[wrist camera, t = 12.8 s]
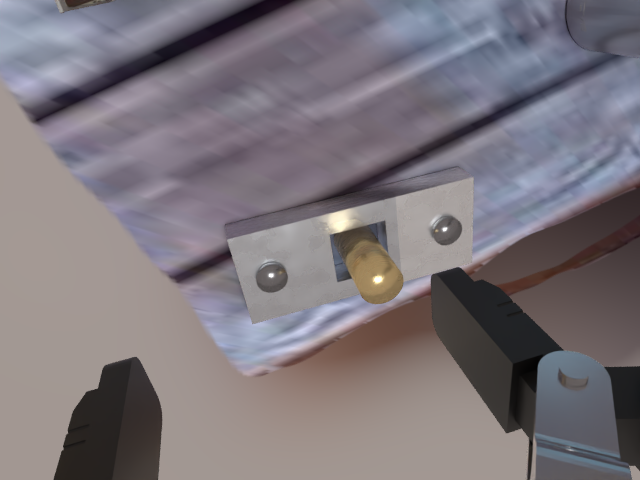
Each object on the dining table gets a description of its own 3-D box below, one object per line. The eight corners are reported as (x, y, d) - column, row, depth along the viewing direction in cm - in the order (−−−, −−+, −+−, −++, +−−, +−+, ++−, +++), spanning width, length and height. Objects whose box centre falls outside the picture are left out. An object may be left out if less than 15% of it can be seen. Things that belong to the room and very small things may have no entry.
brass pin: (369, 216, 46) (402, 260, 39) (372, 249, 48) (404, 297, 41) (331, 224, 46) (357, 271, 38) (336, 258, 48) (362, 308, 40)
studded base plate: (458, 166, 46) (477, 179, 43) (458, 249, 51) (474, 265, 48) (225, 224, 43) (227, 242, 40) (249, 306, 48) (253, 327, 45)
